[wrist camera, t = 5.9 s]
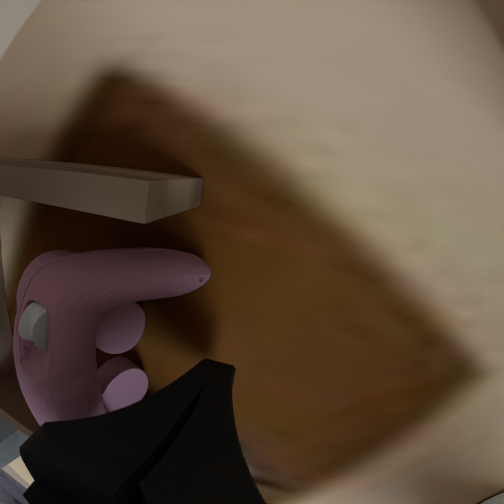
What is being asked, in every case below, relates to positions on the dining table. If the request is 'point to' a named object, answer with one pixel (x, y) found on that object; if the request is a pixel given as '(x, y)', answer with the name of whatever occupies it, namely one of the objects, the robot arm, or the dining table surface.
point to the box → (87, 200)
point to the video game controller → (90, 325)
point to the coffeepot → (9, 442)
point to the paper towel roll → (495, 500)
